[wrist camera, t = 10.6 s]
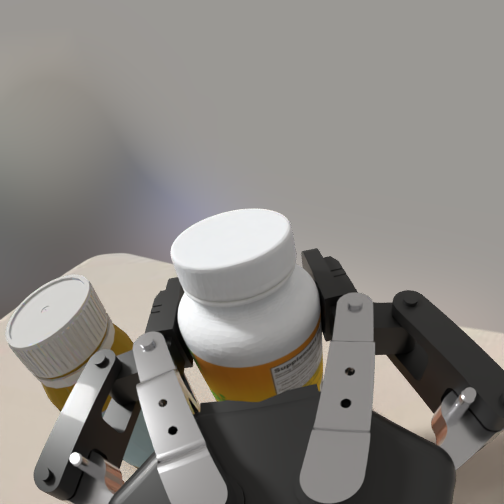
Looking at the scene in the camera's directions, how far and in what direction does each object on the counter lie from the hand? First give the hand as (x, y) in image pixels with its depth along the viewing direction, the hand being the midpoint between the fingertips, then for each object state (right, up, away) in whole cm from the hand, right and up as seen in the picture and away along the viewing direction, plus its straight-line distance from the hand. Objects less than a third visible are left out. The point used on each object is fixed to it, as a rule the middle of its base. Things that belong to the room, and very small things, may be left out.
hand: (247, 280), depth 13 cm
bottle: (-8, -14, +6) cm, 18 cm away
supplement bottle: (+1, -7, +1) cm, 7 cm away
